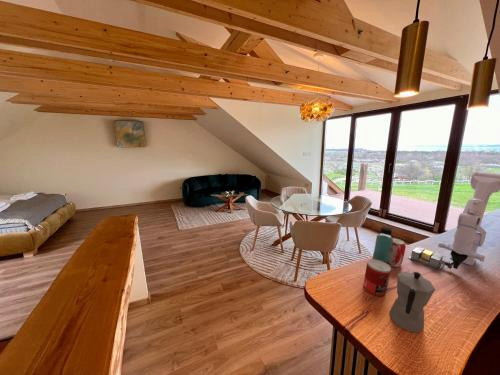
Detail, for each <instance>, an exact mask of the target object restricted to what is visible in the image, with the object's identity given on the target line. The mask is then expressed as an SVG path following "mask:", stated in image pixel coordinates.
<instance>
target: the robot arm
mask: <svg viewBox="0 0 500 375" xmlns="http://www.w3.org/2000/svg"><path fill="white" fill-rule="evenodd" d="M470 186H471V189H472V190H474V193H473V197H472V199H469V200H467V202H466V204H465V207H464V208H463V211H462V212H460V214H459V216H458V217H457V225H456V230H455V233H454V240H453V242H452V244H450V243H445V242H441V241H440V242H438V247H437V248H442V249H445V250H449V251H450V257H449V258H450V259H451V260H452V263H453V266H452V269H455V270H458V268H459V267H460V265H461V264H462V263H463V264H466V265H468V266H471V267H472V266H474V263H475V262H476V260H478V261H479V262H481V263H482V262H485V258H486V255H483V254H480V253H478V252H477V250H478V249H479V247H483V245H484V244H485V243H484V242H485V240H486V237H487V236H486V235H487V231H486V229H485V228H483V227H482V226H481V224H482V221H483V217H484V214H485V212H486V208H487V205H488V203H489V199H490V197H491V196H492V195H493V194H495V193H499V192H500V173H493V172H485V171H477V170H475V171H474V172H473V173H472V176H471V179H470Z"/></svg>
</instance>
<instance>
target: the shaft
mask: <svg viewBox="0 0 500 375" xmlns="http://www.w3.org/2000/svg"><path fill="white" fill-rule="evenodd" d="M420 256H422V253H421V255H420ZM432 256H433V255H432ZM432 256H430V258H431V257H432ZM439 263H441V264H443V266H446V267H447V269H449V270H452V269H453V261H449V262H448V261H445V260H443V259H442V260H440V262H439Z"/></svg>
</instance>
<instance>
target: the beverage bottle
mask: <svg viewBox="0 0 500 375" xmlns="http://www.w3.org/2000/svg"><path fill="white" fill-rule="evenodd" d="M379 231H380V233H379V234H377V235H376V237H375V238H376V239H375V243H374V244H375V245H374V250H373V254H372V259H376V260H380V261H383V262H385V263H386V264H389V263H388V262H389V259H390V258H389V257H390V252H391V250H392V242H393V239H392V238H393V237H392V236H391V235H392V233H393V230H392V229H391V227H388V226H387V227H386V226H382V227H381V228H380V230H379Z"/></svg>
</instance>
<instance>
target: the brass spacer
mask: <svg viewBox="0 0 500 375" xmlns="http://www.w3.org/2000/svg"><path fill="white" fill-rule="evenodd" d="M433 255H434V251H431V250H428V249H425V250H424V251H423V253H422V257H421V259H423V260H426V261H428V262H430V256H433Z"/></svg>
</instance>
